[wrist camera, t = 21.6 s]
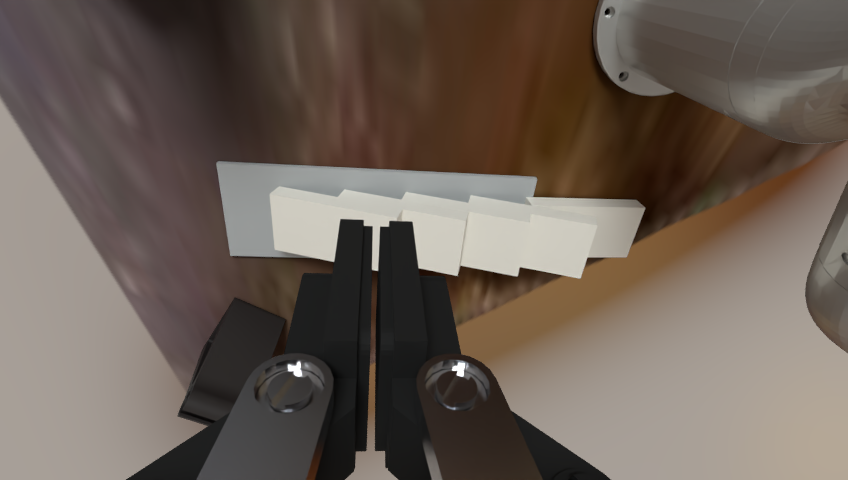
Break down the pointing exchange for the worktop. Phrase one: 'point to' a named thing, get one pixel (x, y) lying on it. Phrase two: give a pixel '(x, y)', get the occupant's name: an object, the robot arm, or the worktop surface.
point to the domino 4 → (552, 237)
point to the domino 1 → (322, 222)
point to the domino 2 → (428, 230)
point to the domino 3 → (487, 234)
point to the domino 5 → (602, 221)
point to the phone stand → (230, 361)
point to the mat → (338, 193)
